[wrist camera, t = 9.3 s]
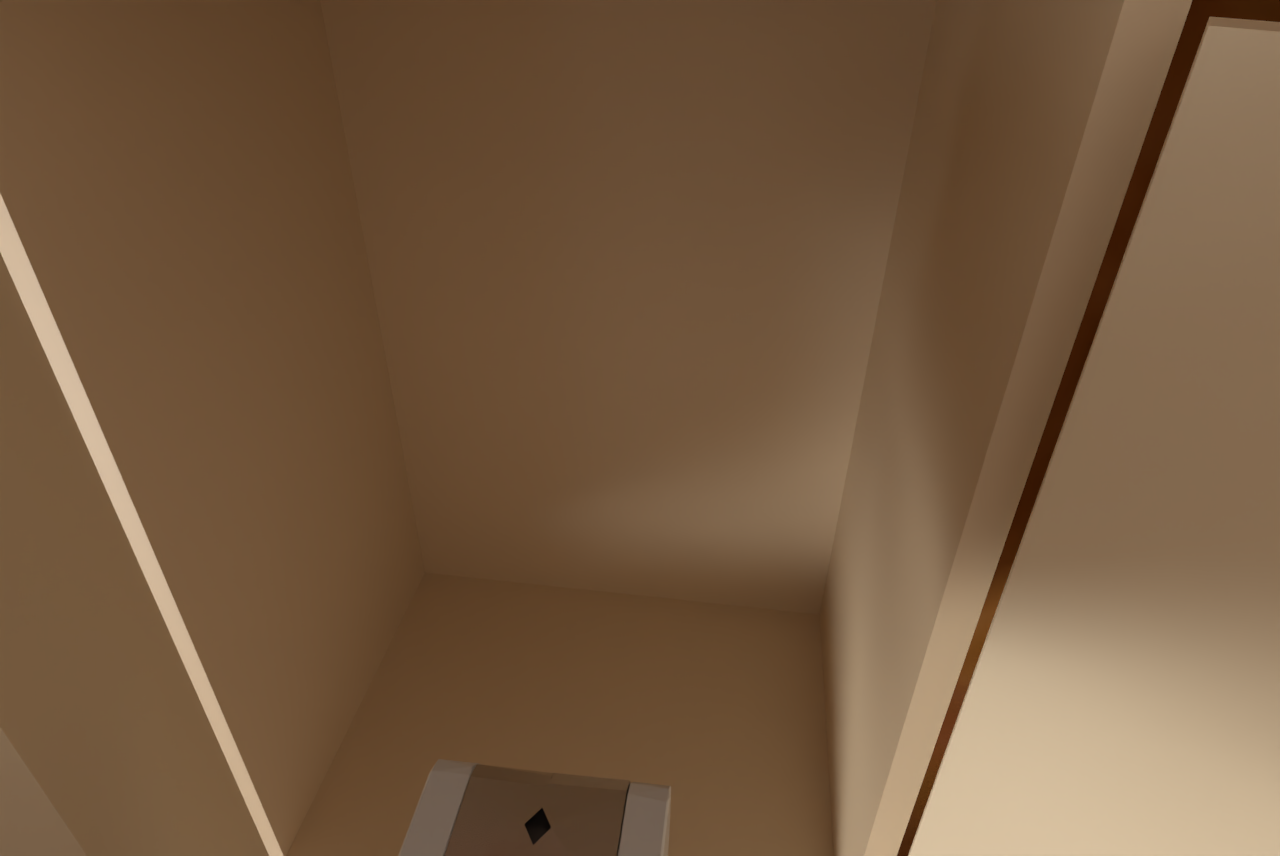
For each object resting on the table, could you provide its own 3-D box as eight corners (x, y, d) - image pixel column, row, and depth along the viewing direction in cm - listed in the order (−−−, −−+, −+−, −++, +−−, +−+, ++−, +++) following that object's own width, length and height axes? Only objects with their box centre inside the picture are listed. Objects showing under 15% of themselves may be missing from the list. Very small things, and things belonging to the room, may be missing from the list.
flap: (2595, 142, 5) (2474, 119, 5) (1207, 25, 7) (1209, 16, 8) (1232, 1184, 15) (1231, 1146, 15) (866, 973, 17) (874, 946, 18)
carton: (268, -176, 17) (-224, -205, 8) (998, -168, 15) (1258, -194, 7) (416, 587, 29) (272, 880, 20) (833, 632, 27) (857, 967, 19)
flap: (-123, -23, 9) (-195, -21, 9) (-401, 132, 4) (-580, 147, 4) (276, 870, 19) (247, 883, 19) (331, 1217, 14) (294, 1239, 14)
